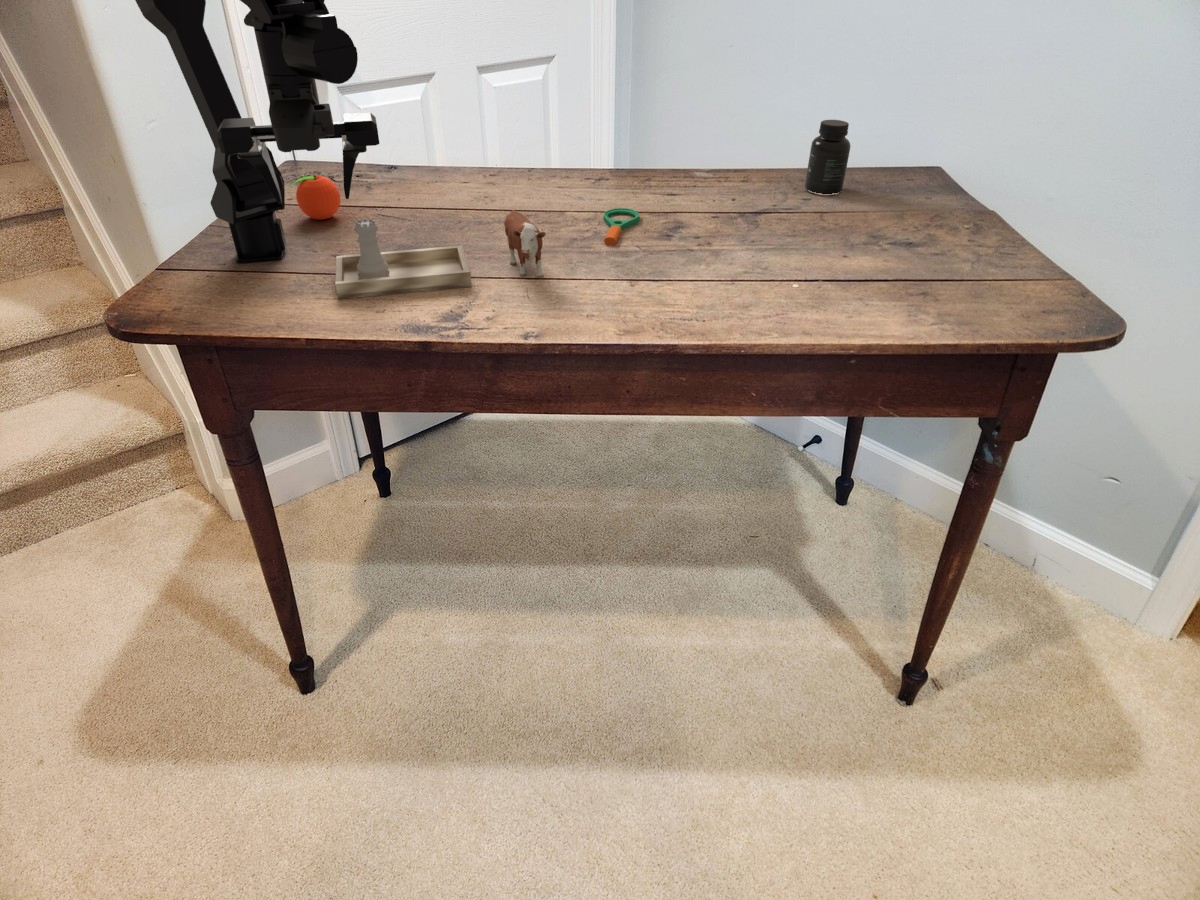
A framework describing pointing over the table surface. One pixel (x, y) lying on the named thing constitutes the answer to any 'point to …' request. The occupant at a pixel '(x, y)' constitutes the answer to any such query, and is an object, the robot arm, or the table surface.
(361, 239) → the rook chess piece
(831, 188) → the supplement bottle
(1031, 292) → the table surface
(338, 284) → the tray
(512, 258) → the bull figurine
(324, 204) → the clementine
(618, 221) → the magnifying glass
